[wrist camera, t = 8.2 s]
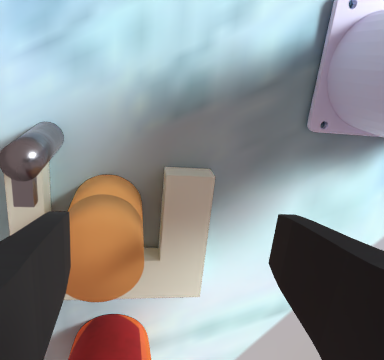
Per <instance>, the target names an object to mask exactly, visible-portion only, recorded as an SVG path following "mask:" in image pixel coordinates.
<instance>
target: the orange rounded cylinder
mask: <svg viewBox="0 0 384 360" xmlns="http://www.w3.org/2000/svg"><path fill="white" fill-rule="evenodd" d="M67 212H69V217H70V254H71V268H70V274H69V279H68V284H67V289H66V294H68V295H69V296H71V297H73V298H76V299H79V300H82V301H87V302H104V301H109V300H113V299H116V298H118V297H120V296H122V295H124V294H126V293H127V292H129V291H130V290H131V289H132V288H133V287H134V286H135V285H136V284H137V283H138V281H139V279H140V278H141V275H142V273H143V269H144V241H143V215H142V200H141V196H140V194H139V192H138V190H137V189H136V188H135V186H134V185H133V184H132V183H130V182H129V181H128V180H126V179H124V178H122V177H119V176H116V175H98V176H95V177H92V178H90V179H88V180H87V181H85V182H84V183H83V184H82V185H81V186H80V187H79V188H78V190H77V191H76V193H75V195H74V198H73V200H72V202H71V204H70V207H69V209H68V211H67Z"/></svg>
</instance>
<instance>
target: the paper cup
mask: <svg viewBox="0 0 384 360" xmlns="http://www.w3.org/2000/svg"><path fill="white" fill-rule="evenodd" d="M68 360H151V355H150V347H149V341H148V336H147V333H146V330H145V328H144V327H143V326H142V324H141V323H139V322H138V321H137V320H135V319H134V318H132V317H129V316H126V315H121V314H107V315H102V316H99V317H96V318H94V319H92V320H90V321H88V322H87V323H86V324H85V325H83V326H82V327H81V329H80V330H79V332H78V333H77V335H76V338H75V340H74V343H73V346H72V349H71V352H70V355H69V359H68Z"/></svg>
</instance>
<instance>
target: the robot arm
mask: <svg viewBox="0 0 384 360" xmlns="http://www.w3.org/2000/svg"><path fill="white" fill-rule="evenodd" d="M349 1H350V0H334V3H333V8H332V12H331V17H330V21H329V26H328V31H327V35H326V40H325V44H324V49H323V54H322V58H321V63H320V67H319V72H318V76H317V81H316V86H315V90H314V95H313V99H312V104H311V109H310V113H309V118H308V122H307V127H308V129H309V130H310V131H313V132H319V133H333V134H348V135H362V136H376V137H384V0H351V1H352V2H353V6H352V8H351V9H350V8H349ZM323 121H324V122H325V125H324V127H322V128H321V127H320V125H321V123H322V122H323ZM269 265H270V268H271V270H272V273H273V275H274V278H275V280H276V282H277V284H278V286H279V288H280V290H281V292H282V293H283V295H284V297H285V298H286V300H287V302H288V303H289V305H290V306H291V308H292V310H293V311H294V313H295V314H296V316H297V318H298V319H299V321H300V322H301V324H302V326H303V327H304V329H305V331H306V332H307V334H308V335H309V337H310V339H311V340H312V342H313V344H314V346H315V347H316V349H317V351H318V353H319V355H320V357H321V359H322V360H384V251H382V250H379V249H377V248H375V247H372V246H370V245H367V244H365V243H362V242H360V241H357V240H355V239H353V238H350V237H348V236H346V235H343V234H341V233H339V232H337V231H334V230H332V229H330V228H328V227H325V226H323V225H321V224H319V223H316V222H314V221H311V220H309V219H306V218H304V217H301V216H297V215H285V214H278V219H277V224H276V229H275V234H274V239H273V244H272V249H271V254H270V259H269ZM70 268H71V254H70V217H69V212H58V211H49V212H47V213H45V214H43V215H42V216H40V217H39V218H37V219H36V220H34V221H33V222H31V223H29V224H28V225H26V226H25V227H23V228H22V229H20V230H19V231H17V232H15V233H14V234H12V235H11V236H9V237H7V238H5V239H4V240H2V241H0V360H43V359H44V356H45V353H46V350H47V347H48V344H49V341H50V338H51V335H52V333H53V330H54V327H55V324H56V321H57V318H58V315H59V312H60V309H61V306H62V303H63V300H64V297H65V294H66V289H67V284H68V279H69V274H70Z"/></svg>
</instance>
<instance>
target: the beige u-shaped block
mask: <svg viewBox="0 0 384 360" xmlns="http://www.w3.org/2000/svg"><path fill="white" fill-rule="evenodd" d="M4 181H5V191H6V201H7V211H8V222H9V232H10V236H11V235H12V234H14V233H15V232H17V231H19V230H20V229H22V228H23V227H25V226H26V225H28V224H29V223H31V222H33V221H34V220H36V219H37V218H39V217H40V216H42V215H43V214H45V213H47V212H49V211H51V193H50V172H49V162H48V163H47V164H46V166H45V167H44V168H43V169H42V171H41V172H40V173H39V174H38V175H37V191H38V202H37V204H36V205H35V207H14V205H13V194H12V183H11V178H9V177H8V176H6V175H5V174H4ZM214 184H215V176H214V174H213V173H212V171H211V169H203V168H182V167H165V168H164V181H163V195H162V208H161V221H160V235H159V248H144V269H143V273H142V275H141V278H140V279H139V281H138V283H137V284H136V285H135V286H134V287H133V288H132V289H131V290H130V291H129V292H127V293H126V294H124V295H122V296H120V297H118V298H116V299H134V298H174V297H200V291H201V283H202V276H203V268H204V260H205V253H206V245H207V238H208V230H209V222H210V215H211V207H212V199H213V192H214ZM64 300H79V299H76V298H73V297H71V296H69V295H68V294H65V297H64Z"/></svg>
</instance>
